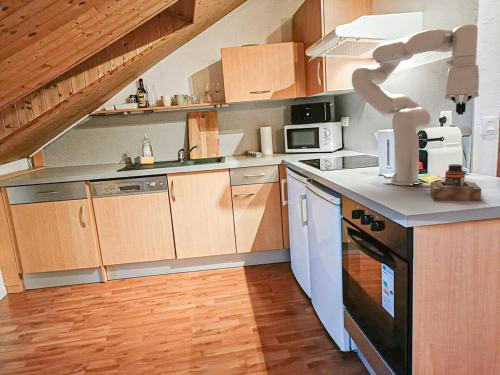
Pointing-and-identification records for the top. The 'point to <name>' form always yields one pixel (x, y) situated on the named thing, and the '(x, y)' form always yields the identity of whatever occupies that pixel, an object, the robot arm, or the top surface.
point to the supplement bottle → (454, 175)
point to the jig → (456, 191)
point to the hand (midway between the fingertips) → (460, 114)
